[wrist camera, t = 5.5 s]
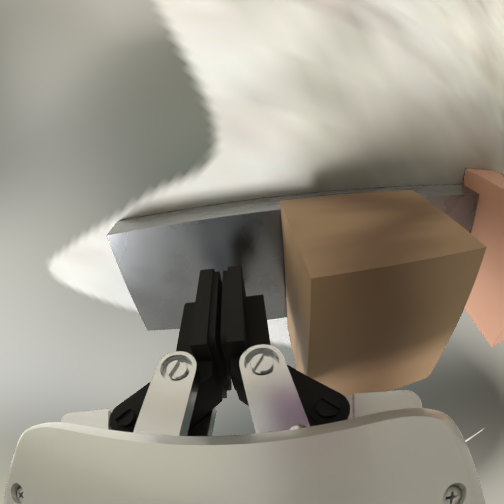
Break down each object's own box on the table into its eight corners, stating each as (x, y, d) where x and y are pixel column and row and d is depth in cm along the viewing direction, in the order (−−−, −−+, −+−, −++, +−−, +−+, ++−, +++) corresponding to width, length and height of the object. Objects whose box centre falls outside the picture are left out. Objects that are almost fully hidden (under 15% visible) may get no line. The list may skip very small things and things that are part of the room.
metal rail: (490, 184, 12) (506, 193, 11) (472, 262, 15) (483, 274, 14) (118, 221, 13) (106, 235, 11) (153, 312, 16) (147, 330, 14)
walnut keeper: (411, 189, 11) (486, 247, 6) (390, 308, 14) (427, 377, 10) (280, 200, 11) (311, 278, 6) (287, 327, 14) (304, 410, 10)
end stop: (493, 170, 12) (566, 215, 6) (468, 273, 16) (517, 332, 10) (465, 168, 12) (547, 218, 6) (441, 281, 16) (491, 347, 10)
